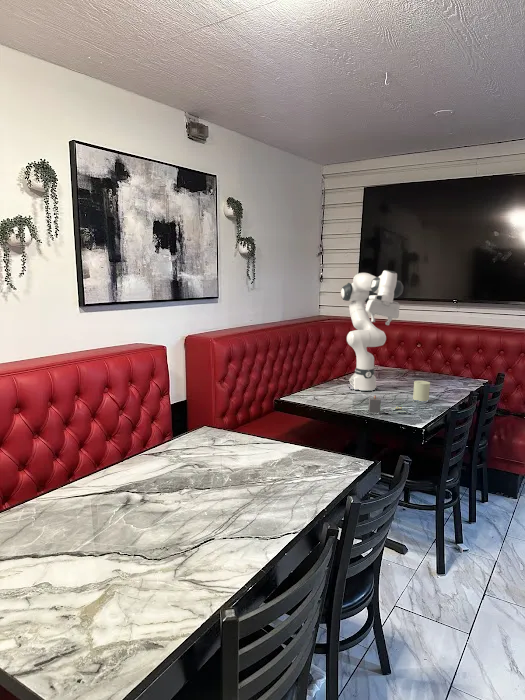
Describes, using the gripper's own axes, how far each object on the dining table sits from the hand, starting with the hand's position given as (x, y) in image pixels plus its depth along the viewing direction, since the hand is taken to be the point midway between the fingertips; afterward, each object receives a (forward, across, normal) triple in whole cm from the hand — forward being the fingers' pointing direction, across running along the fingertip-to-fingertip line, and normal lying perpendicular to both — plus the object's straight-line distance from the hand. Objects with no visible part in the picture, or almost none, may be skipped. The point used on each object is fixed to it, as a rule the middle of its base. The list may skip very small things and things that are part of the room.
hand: (380, 323), depth 256 cm
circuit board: (+45, -13, +11) cm, 49 cm away
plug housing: (+49, +1, +13) cm, 50 cm away
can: (+40, -38, 0) cm, 55 cm away
